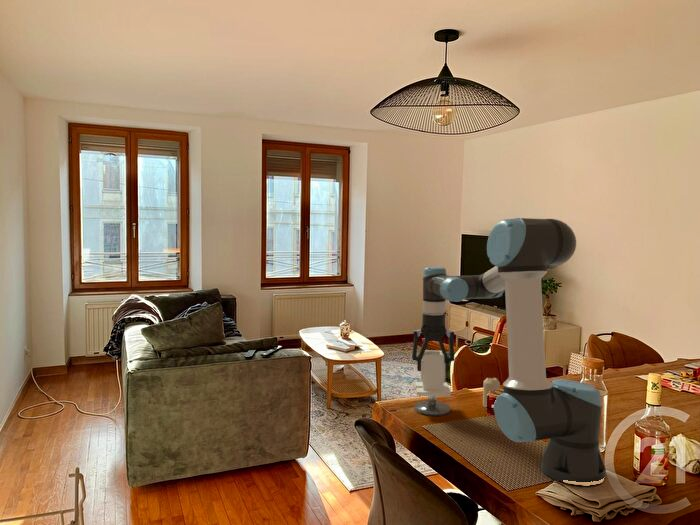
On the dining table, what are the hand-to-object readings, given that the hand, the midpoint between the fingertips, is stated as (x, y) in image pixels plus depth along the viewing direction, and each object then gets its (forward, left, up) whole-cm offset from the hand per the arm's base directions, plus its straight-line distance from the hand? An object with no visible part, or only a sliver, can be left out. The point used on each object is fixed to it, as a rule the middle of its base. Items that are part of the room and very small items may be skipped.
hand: (432, 380), depth 178 cm
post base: (0, 0, -10) cm, 10 cm away
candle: (+3, -21, -10) cm, 24 cm away
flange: (0, 0, -3) cm, 3 cm away
